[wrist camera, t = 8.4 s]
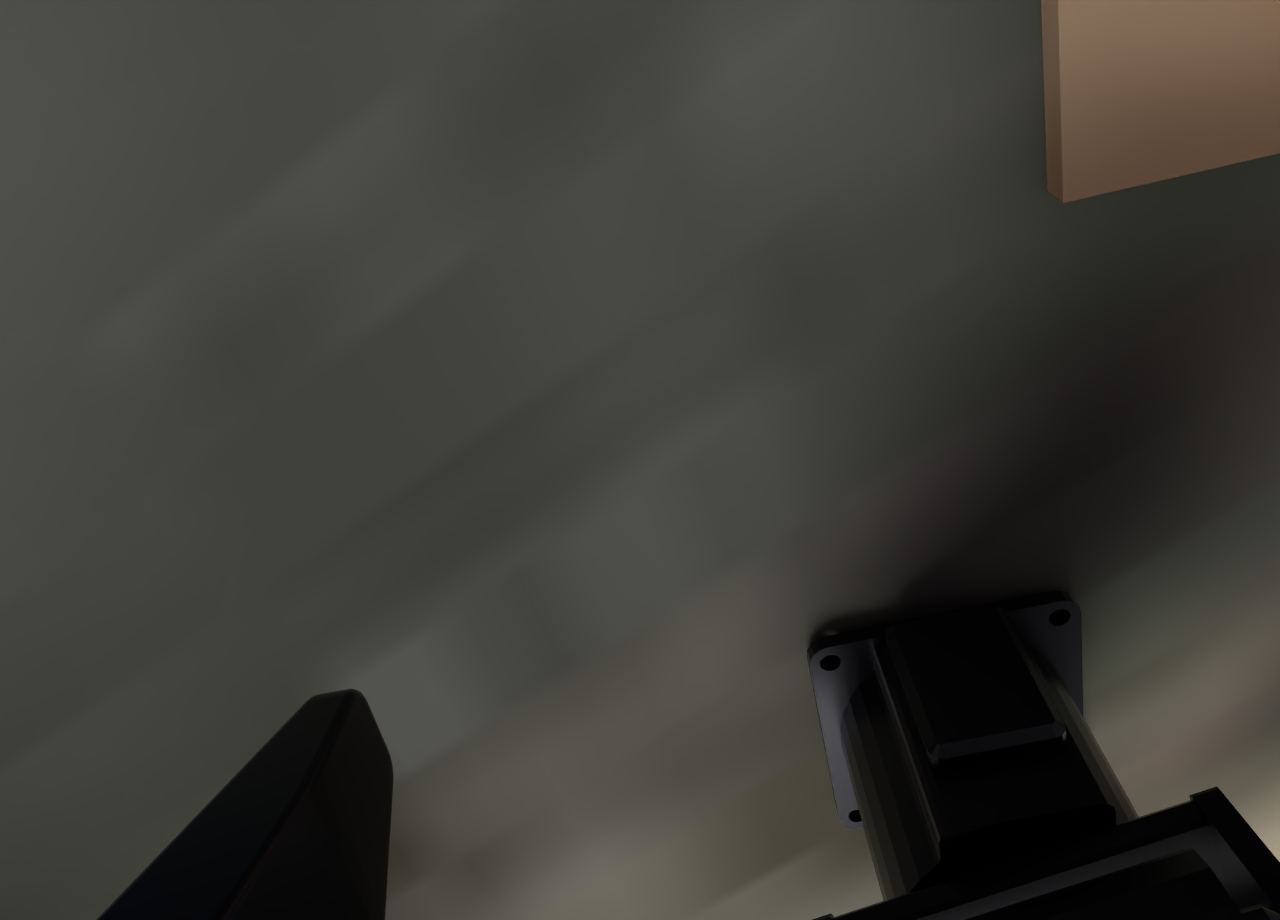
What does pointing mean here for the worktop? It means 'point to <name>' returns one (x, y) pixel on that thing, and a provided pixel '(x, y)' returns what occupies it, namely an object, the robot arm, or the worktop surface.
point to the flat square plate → (1156, 89)
